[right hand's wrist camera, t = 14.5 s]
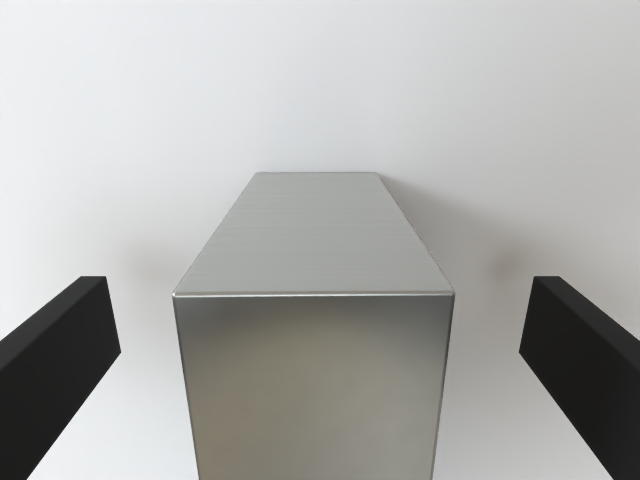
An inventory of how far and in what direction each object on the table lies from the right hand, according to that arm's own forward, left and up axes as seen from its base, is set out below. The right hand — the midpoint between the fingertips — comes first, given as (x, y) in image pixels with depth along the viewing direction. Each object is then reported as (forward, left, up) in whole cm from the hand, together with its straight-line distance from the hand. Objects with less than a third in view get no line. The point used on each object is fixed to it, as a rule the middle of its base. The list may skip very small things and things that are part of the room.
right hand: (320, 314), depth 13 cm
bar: (-1, +9, -4) cm, 10 cm away
